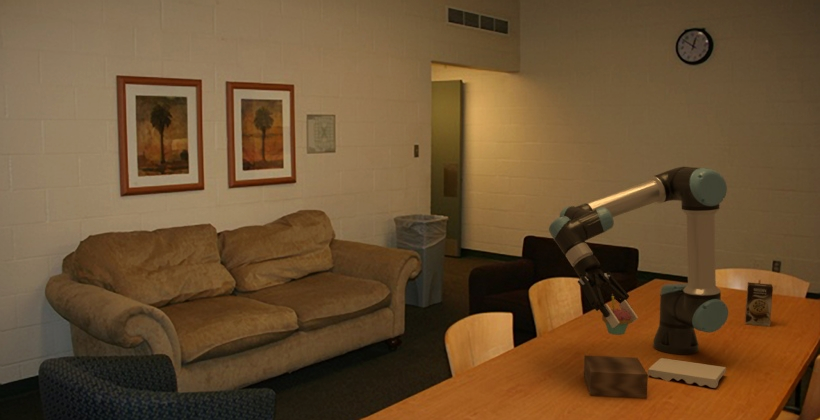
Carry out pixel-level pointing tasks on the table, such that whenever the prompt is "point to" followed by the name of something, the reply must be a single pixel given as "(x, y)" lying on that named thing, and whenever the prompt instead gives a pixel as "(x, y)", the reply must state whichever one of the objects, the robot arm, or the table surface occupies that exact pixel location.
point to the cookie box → (758, 304)
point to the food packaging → (687, 372)
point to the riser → (615, 376)
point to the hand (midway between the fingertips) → (625, 322)
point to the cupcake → (622, 318)
